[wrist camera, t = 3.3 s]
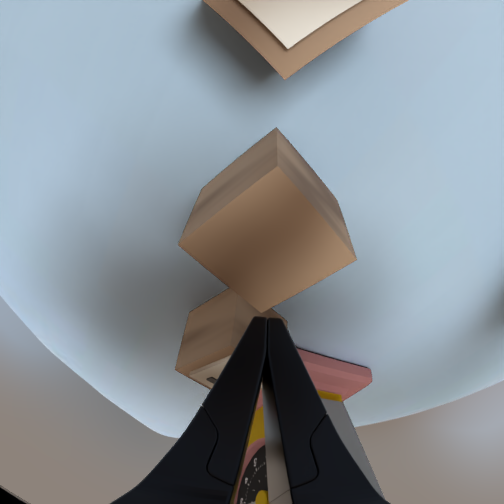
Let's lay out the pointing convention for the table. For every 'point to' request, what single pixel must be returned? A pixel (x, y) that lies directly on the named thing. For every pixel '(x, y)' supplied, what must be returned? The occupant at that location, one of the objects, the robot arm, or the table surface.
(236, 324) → the numbered block
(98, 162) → the table surface
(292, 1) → the numbered block
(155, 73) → the table surface
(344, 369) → the pink yellow upright block
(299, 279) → the plain block
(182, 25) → the table surface
